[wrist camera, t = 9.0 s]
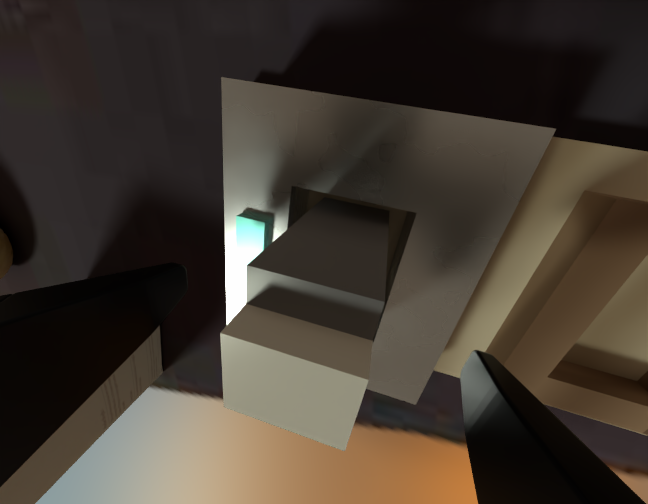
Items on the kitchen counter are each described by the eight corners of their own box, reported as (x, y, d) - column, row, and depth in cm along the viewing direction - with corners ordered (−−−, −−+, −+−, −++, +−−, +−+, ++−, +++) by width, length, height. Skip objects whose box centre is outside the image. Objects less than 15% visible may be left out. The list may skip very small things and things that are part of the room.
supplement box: (82, 280, 20) (-296, 455, 9) (163, 315, 20) (-141, 550, 8) (95, 343, 24) (-170, 526, 13) (164, 374, 23) (-51, 598, 12)
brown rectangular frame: (867, 242, 8) (962, 263, 7) (657, 413, 12) (689, 447, 11) (584, 190, 9) (616, 199, 8) (479, 361, 13) (488, 386, 12)
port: (516, 130, 9) (565, 128, 6) (412, 363, 14) (416, 412, 12) (257, 89, 10) (213, 74, 8) (250, 313, 16) (222, 348, 13)
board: (949, 202, 8) (1020, 210, 7) (662, 425, 13) (682, 446, 12) (247, 90, 12) (235, 86, 11) (244, 300, 17) (235, 309, 16)
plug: (389, 210, 11) (382, 337, 4) (367, 293, 13) (336, 475, 6) (324, 197, 12) (218, 290, 5) (312, 279, 14) (225, 431, 7)
